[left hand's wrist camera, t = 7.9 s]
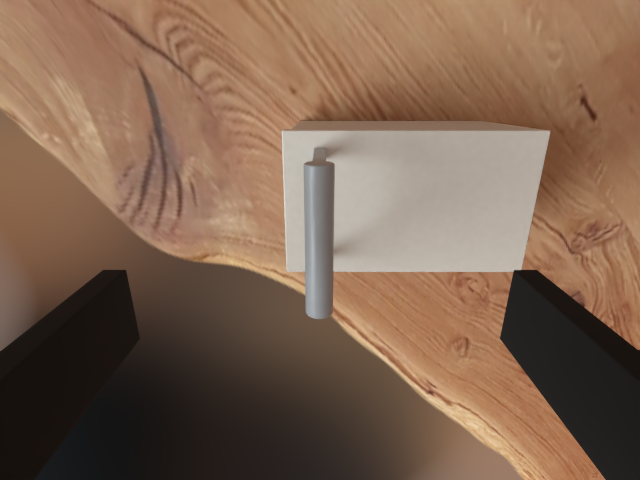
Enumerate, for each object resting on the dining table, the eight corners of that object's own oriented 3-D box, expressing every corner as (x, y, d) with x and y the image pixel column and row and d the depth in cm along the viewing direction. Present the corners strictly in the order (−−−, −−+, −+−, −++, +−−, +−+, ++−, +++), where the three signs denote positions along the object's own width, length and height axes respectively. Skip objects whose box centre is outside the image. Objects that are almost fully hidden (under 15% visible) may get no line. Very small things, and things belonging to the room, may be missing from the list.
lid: (287, 266, 27) (274, 334, 19) (283, 129, 24) (264, 144, 16) (515, 266, 27) (593, 334, 19) (543, 129, 24) (652, 144, 16)
